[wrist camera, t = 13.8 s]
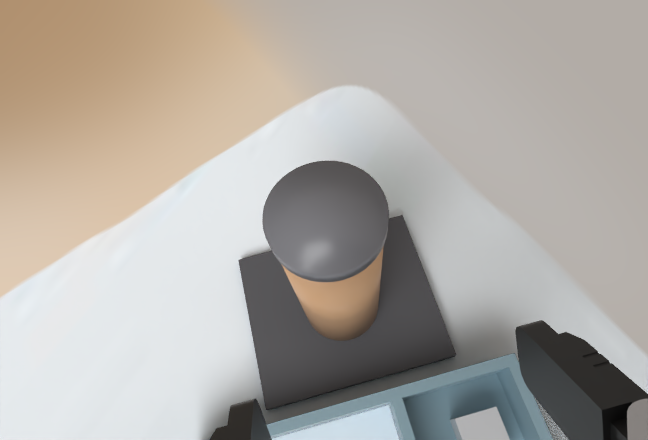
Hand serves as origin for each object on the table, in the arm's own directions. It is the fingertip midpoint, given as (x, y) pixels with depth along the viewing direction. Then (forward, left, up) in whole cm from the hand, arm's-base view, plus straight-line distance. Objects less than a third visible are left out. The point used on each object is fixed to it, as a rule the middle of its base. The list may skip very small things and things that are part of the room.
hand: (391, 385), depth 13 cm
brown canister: (0, -7, -14) cm, 16 cm away
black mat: (0, -7, -15) cm, 16 cm away
